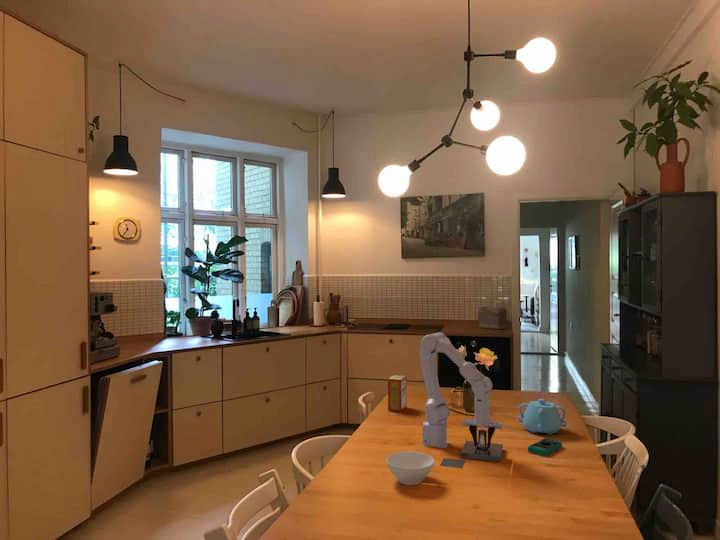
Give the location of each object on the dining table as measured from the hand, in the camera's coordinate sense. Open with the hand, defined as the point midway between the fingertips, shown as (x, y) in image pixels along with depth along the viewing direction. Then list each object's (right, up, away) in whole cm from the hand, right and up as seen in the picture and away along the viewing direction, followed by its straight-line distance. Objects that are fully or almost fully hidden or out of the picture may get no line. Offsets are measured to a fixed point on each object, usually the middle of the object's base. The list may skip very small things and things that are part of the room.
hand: (482, 446), depth 202 cm
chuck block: (0, -3, 0) cm, 3 cm away
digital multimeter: (+25, -4, +6) cm, 26 cm away
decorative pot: (+32, -3, +29) cm, 44 cm away
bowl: (-29, -4, -24) cm, 38 cm away
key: (0, -3, 0) cm, 3 cm away
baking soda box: (-27, -3, +65) cm, 71 cm away
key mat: (-13, -3, -9) cm, 16 cm away
